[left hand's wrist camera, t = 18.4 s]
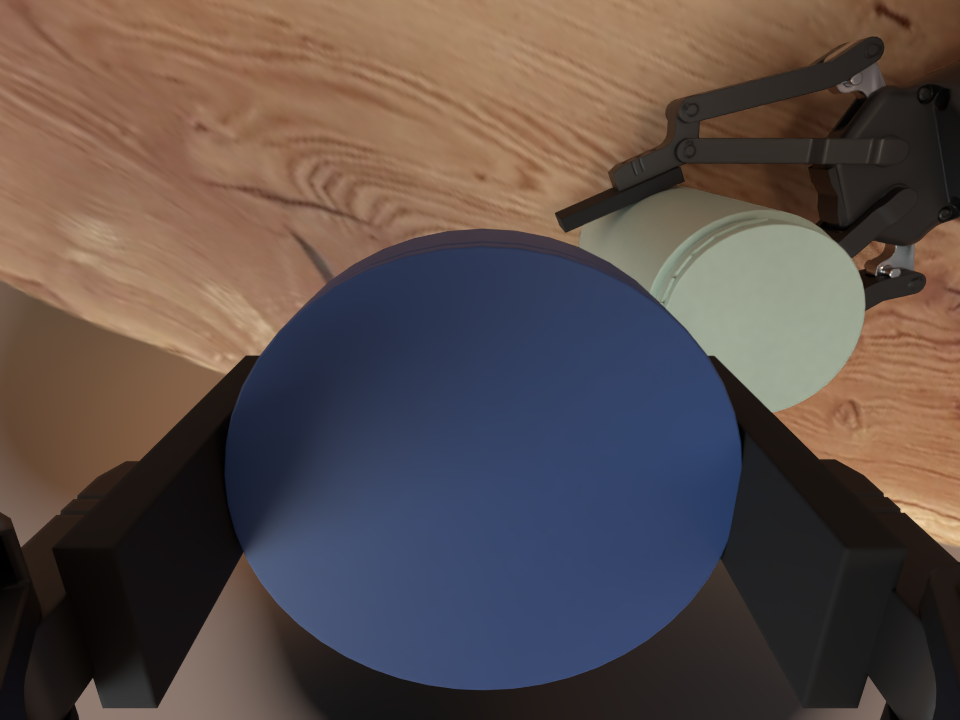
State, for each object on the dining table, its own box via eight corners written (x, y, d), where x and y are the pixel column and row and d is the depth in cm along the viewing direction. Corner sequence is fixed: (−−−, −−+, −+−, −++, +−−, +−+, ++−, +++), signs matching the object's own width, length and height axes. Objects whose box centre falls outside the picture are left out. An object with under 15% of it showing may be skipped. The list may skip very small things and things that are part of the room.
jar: (608, 160, 38) (714, 182, 20) (723, 202, 38) (919, 257, 21) (561, 279, 40) (619, 387, 23) (670, 316, 41) (804, 447, 24)
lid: (381, 671, 14) (369, 738, 13) (166, 342, 11) (116, 378, 10) (756, 552, 13) (794, 610, 11) (628, 142, 10) (656, 145, 8)
